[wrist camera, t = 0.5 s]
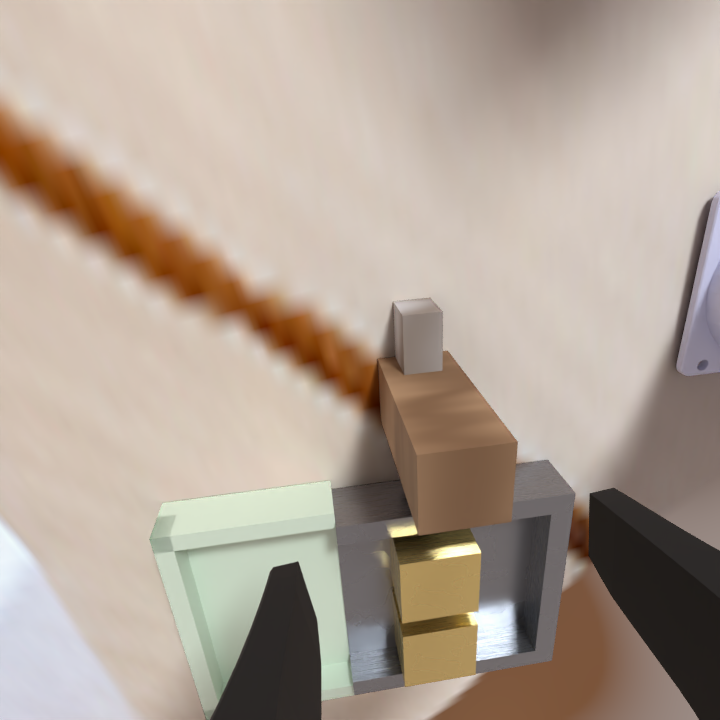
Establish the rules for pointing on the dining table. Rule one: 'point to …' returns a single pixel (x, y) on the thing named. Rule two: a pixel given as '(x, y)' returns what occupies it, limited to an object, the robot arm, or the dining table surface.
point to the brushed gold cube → (435, 574)
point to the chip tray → (249, 576)
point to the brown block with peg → (442, 430)
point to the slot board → (497, 574)
